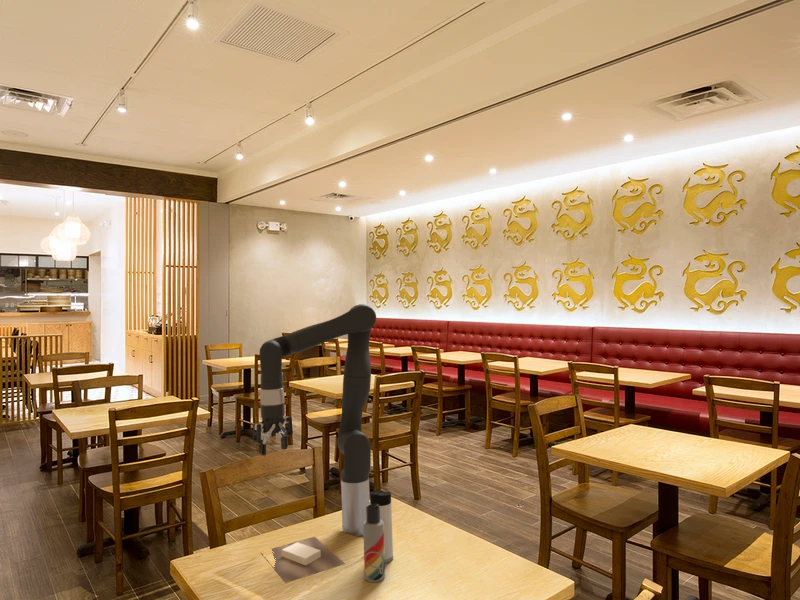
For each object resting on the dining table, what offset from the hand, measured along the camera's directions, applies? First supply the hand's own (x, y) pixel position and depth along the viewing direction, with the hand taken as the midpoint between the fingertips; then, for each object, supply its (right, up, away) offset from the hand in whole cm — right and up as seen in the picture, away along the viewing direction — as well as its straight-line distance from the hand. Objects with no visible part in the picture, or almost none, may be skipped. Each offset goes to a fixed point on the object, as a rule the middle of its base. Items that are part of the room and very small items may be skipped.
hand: (273, 452), depth 174 cm
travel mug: (+36, -27, -16) cm, 48 cm away
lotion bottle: (+34, -27, -26) cm, 51 cm away
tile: (+8, -26, -12) cm, 30 cm away
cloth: (+12, -28, -16) cm, 34 cm away
